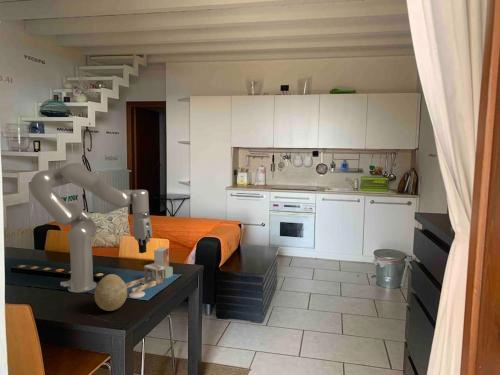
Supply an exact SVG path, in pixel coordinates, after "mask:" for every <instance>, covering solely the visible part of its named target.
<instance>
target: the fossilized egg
mask: <svg viewBox="0 0 500 375" xmlns="http://www.w3.org/2000/svg"><path fill="white" fill-rule="evenodd" d="M125 284H126V283H125V281H124V280H123V279H122V278H121V277H120V276H119V275H117V274H114V273H110V274H107V275H105V276H104V277H102V278H101V279H100V280H99V282H97V286H96V287H95V288H94V297H93V298H94V302H95V303H96V305H97V306H98V307H99V309H102V311H107V312H112V311H116V310H118V309H119V308H121V307H122V306H123V305H124V303H125V302H126V300H127V297H128V288H127V287H126V285H125Z"/></svg>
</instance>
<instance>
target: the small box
mask: <svg viewBox="0 0 500 375" xmlns="http://www.w3.org/2000/svg"><path fill="white" fill-rule="evenodd" d="M169 250H170V248H169V247H167V246H166V247H165V246H162V247H161V246H160V247H157V249H155V250H153V253H154V254H153V256H154V258H153V261H154V262H153V264H156V265H159V266H170V251H169Z"/></svg>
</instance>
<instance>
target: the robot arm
mask: <svg viewBox="0 0 500 375" xmlns="http://www.w3.org/2000/svg"><path fill="white" fill-rule="evenodd" d="M29 184H30V185H29V188H30V193H31V194H32V196H33V198H34V199H35V200H36V201H37V203H39V204H40V206H41V207H42V208H43V209H44V210H45V211H46V213H47V214H49V216H51V218H53V220H54V221H55V222H56V223H57V224H58V225H59V226H62V227H63V226H64V227H65V226H69V225H70V226H71V227H70V228H69V230H68V233H67V240H68V245H69V246H68V247H69V255H70V256H69V257H70V278H69V279H70V280H69V279H68V281H60V287H63V288H66V287H67V291H69V292H71V293H85V292H86V293H87V292H89V291H92V290H95V289H96V287H97V285H98V283H97V282H95V281H94V274H93V272H94V268H93V265H94V264H93V262H94V261H93V248H92V241H91V238H93V237H94V236H95V235H96V233H97V231H98V227H97V224H96V223H95V221H94V220H93V219H92V218H91V217H90V216H89V215H88V213H86V212H85V211H86V210H85V211H84V209H83V208H82V207H81V206H80V205H78V204H76V203H71V202H69V203H67V202H66V201H65V200H64V199H63V197H61V195H60V194H58V193H57V191H55V190H54V189H53V188H58V187H61V186H64V185H68V184H69V185H70V184H73V185H75V186H76V187H79V188H81V189H83V190H85V191H87V192H89V193H91V194H93V196H96V197H97V198H99V199H100V200H101V201H104V202H105V203H108V204H110V205H112V206H114V207H116V208H125V207H126V206H128V205H131V204H132V206H131V207H132V237H133V238H134V240H136V242H137V245H138V253H139V254H144V253H147V244H148V243H149V242H151V239H152V238H153V226H152V222H151V218H150V205H149V204H150V203H149V191H148V190H146V189H121V190H119V189H118V188H115V187H114V186H112V185H109V184H108V183H107V182H106V181H105V180H104V178H102V177H101V176H100V174H99V175H98V174H96V173H94V172H92V171H90V170H88V169H87V168H86V167H85V166H84V165H83V164H81V163H79V162H77V163H76V162H75V163H68V164H66V165H65V166H63V167H57V168H54V169H48V170H46V169H45V170H41V171H38V172H37V173H35V174H34V175H33V177H32V179H31V181H30V183H29Z"/></svg>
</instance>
